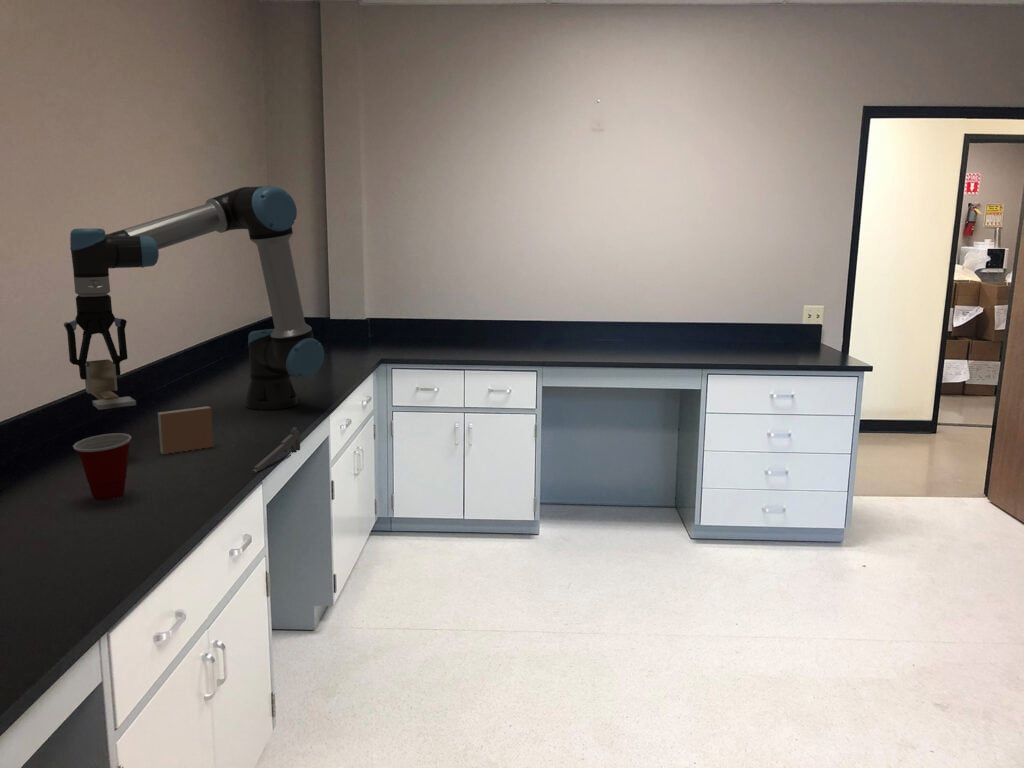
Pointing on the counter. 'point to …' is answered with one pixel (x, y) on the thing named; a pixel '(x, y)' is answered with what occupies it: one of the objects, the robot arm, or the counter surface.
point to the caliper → (281, 449)
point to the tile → (185, 429)
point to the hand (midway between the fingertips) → (101, 390)
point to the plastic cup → (105, 463)
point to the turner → (105, 386)
